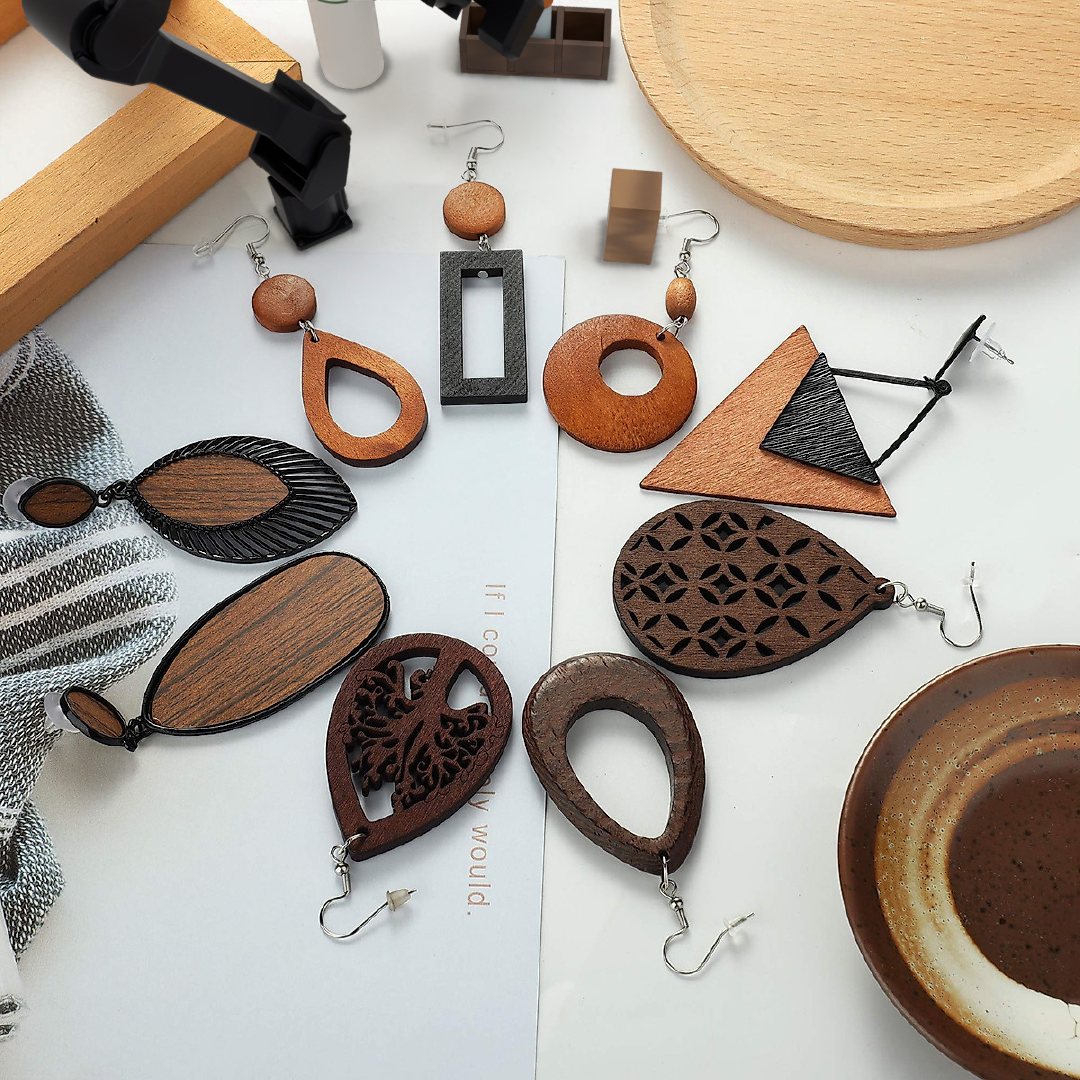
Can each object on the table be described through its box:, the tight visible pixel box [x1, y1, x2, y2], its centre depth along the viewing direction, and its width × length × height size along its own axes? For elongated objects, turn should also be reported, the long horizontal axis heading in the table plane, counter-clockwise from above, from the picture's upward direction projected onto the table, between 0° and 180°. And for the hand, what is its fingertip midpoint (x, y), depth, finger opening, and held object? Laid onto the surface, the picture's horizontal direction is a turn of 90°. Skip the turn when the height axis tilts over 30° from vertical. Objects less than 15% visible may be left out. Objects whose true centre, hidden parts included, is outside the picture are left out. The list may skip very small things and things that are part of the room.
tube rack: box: [458, 0, 613, 81], centre depth 112 cm, size 17×6×4 cm, turn 87°
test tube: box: [530, 0, 554, 39], centre depth 110 cm, size 4×4×8 cm
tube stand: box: [603, 167, 663, 265], centre depth 99 cm, size 5×5×8 cm
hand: (502, 8), depth 104 cm, fingers open, 9 cm apart
